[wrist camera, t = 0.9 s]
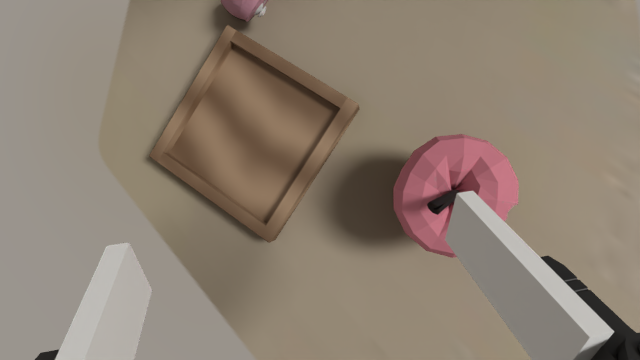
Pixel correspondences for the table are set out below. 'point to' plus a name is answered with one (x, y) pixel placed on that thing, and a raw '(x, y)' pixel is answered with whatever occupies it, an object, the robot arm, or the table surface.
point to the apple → (450, 186)
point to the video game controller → (245, 8)
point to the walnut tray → (253, 132)
